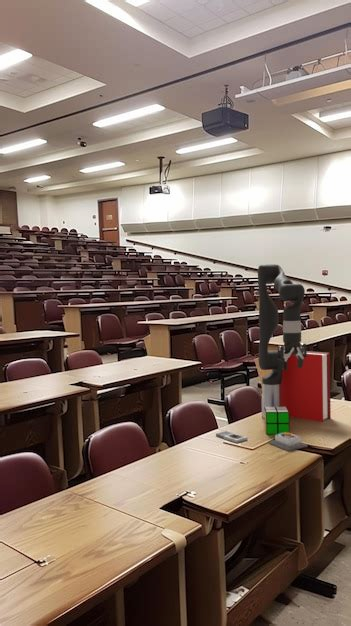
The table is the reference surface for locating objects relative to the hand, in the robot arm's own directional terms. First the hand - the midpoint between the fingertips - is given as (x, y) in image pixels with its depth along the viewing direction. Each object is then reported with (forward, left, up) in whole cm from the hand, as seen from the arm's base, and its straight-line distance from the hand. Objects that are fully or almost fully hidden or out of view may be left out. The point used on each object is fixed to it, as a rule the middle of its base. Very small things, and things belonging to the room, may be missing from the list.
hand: (292, 368), depth 205 cm
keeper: (+7, -10, -29) cm, 32 cm away
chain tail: (-14, -23, -29) cm, 40 cm away
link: (+7, -10, -29) cm, 31 cm away
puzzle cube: (-10, -1, -30) cm, 31 cm away
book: (-23, +26, -30) cm, 46 cm away
